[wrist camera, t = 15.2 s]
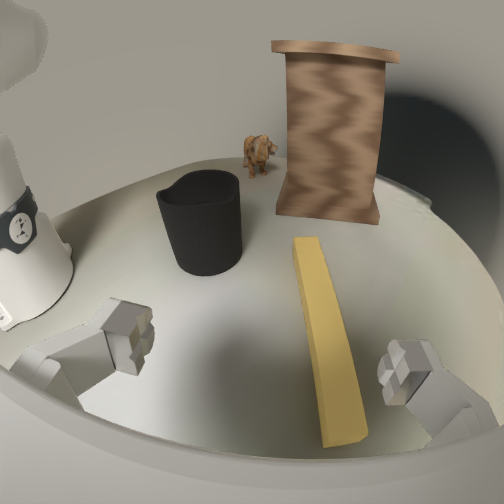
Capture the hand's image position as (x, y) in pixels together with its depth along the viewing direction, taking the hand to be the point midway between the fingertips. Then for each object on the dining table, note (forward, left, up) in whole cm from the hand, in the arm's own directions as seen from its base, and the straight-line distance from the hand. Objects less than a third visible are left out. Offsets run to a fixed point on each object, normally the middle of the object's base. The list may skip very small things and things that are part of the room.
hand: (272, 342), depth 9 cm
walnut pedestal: (+3, +39, -15) cm, 42 cm away
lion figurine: (-12, +49, -16) cm, 53 cm away
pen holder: (-12, +21, -16) cm, 29 cm away
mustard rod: (+3, +12, -16) cm, 20 cm away
